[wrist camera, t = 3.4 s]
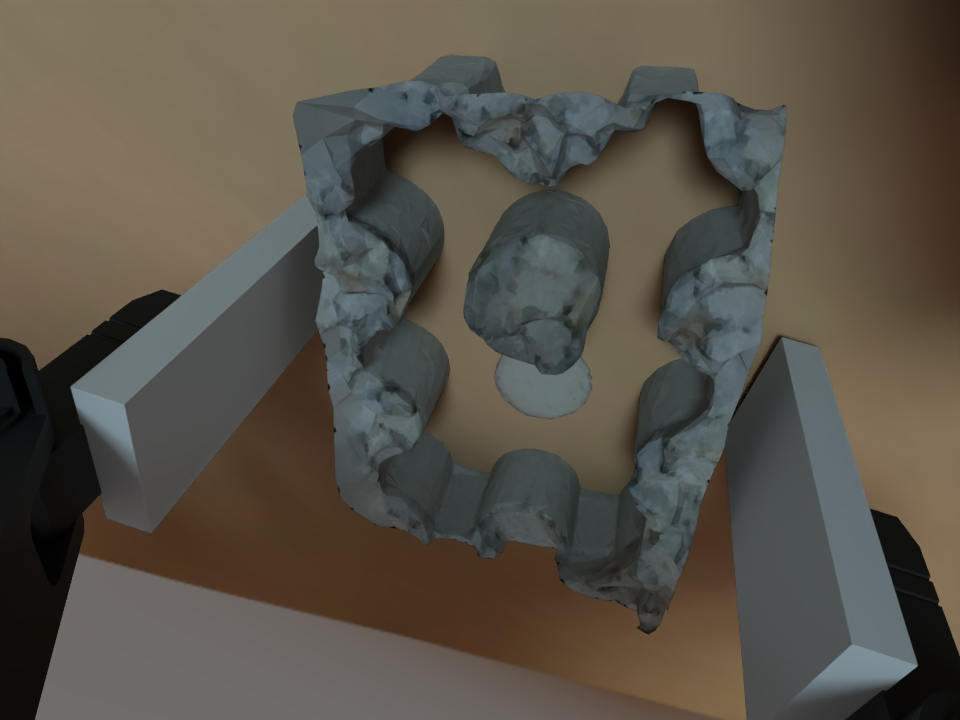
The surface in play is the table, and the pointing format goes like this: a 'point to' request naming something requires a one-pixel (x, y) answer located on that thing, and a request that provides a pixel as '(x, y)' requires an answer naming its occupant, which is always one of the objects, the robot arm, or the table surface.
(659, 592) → the egg carton
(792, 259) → the table surface
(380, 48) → the table surface
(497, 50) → the table surface
